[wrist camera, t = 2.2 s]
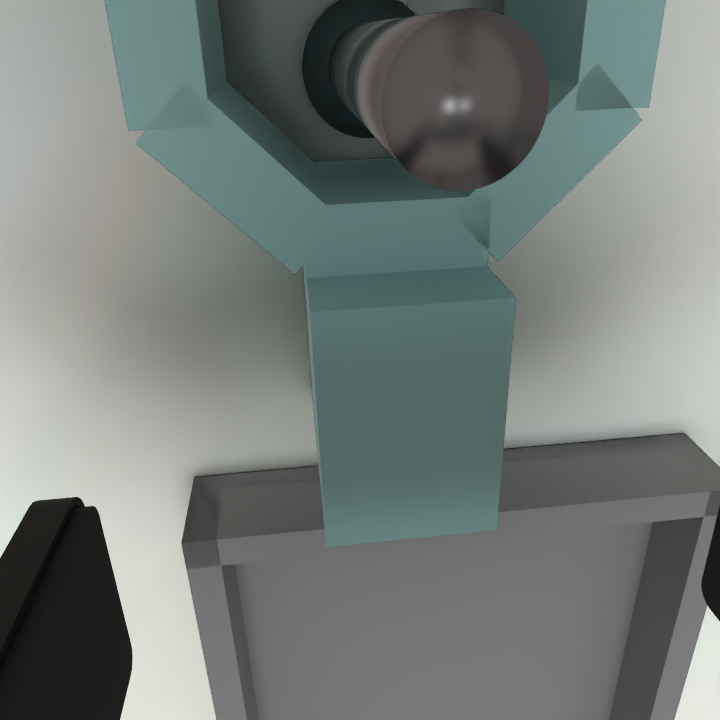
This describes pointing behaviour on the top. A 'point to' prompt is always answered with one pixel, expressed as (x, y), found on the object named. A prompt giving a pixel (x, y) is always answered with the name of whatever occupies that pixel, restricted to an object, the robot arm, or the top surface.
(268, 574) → the tray
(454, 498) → the teal magnifying glass
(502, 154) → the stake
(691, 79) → the top surface
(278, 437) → the top surface
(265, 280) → the top surface
